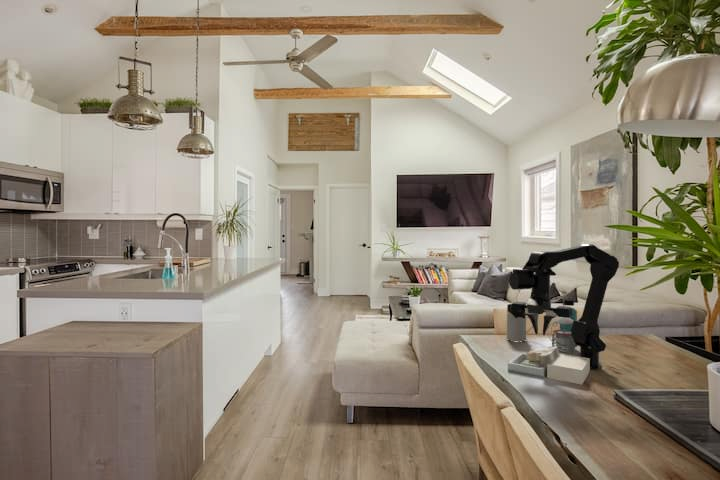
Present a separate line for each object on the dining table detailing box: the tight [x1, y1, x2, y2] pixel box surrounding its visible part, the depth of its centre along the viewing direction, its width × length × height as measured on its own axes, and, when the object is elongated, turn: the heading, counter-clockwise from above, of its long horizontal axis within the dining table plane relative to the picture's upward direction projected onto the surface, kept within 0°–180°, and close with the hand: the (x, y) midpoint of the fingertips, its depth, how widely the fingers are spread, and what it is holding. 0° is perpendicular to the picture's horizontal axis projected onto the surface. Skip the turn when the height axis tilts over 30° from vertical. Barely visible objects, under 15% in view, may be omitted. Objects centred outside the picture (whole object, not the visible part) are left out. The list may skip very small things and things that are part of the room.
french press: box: [547, 290, 576, 356], centre depth 157 cm, size 10×12×25 cm
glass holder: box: [505, 303, 540, 341], centre depth 183 cm, size 9×14×15 cm, turn 93°
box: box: [507, 352, 547, 378], centre depth 145 cm, size 15×12×2 cm
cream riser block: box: [546, 354, 591, 386], centre depth 138 cm, size 15×10×4 cm, turn 144°
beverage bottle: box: [558, 298, 578, 348], centre depth 167 cm, size 6×7×20 cm
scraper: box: [526, 345, 559, 364], centre depth 143 cm, size 14×2×8 cm
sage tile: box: [522, 360, 539, 368], centre depth 141 cm, size 4×4×2 cm
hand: (540, 334), depth 143 cm, fingers closed
